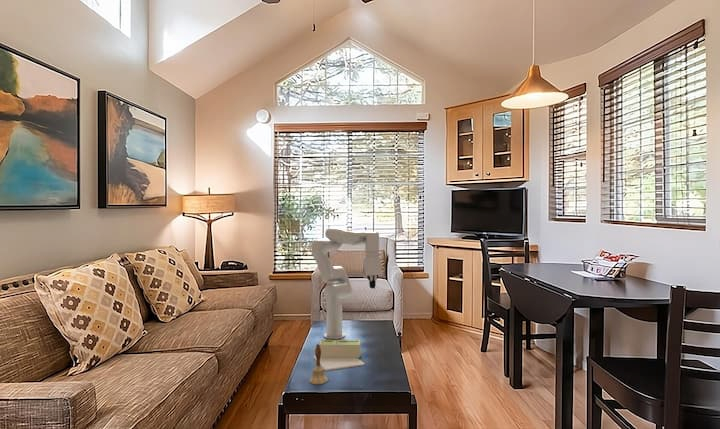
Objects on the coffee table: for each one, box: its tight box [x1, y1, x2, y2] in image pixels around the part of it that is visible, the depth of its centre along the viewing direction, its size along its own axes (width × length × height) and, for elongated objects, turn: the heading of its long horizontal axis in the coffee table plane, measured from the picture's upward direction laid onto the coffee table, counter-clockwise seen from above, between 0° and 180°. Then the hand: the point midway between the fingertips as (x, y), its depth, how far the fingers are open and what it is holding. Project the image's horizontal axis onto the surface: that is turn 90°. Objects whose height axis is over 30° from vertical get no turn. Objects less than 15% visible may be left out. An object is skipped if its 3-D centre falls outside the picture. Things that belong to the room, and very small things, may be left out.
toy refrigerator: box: [319, 339, 362, 359], centre depth 221 cm, size 8×7×21 cm
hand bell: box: [308, 343, 329, 385], centre depth 189 cm, size 8×8×16 cm
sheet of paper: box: [313, 355, 365, 372], centre depth 214 cm, size 20×20×1 cm
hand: (372, 287), depth 234 cm, fingers closed
